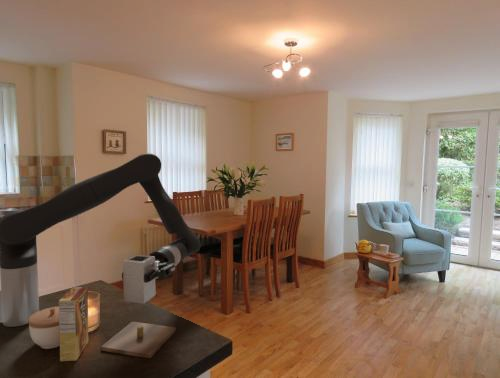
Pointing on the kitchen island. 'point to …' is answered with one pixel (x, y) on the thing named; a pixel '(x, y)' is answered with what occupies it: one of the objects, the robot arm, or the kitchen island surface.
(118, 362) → the kitchen island surface
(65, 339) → the candy box
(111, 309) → the kitchen island surface
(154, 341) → the hub plate
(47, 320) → the lidded jar
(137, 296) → the steel sleeve
